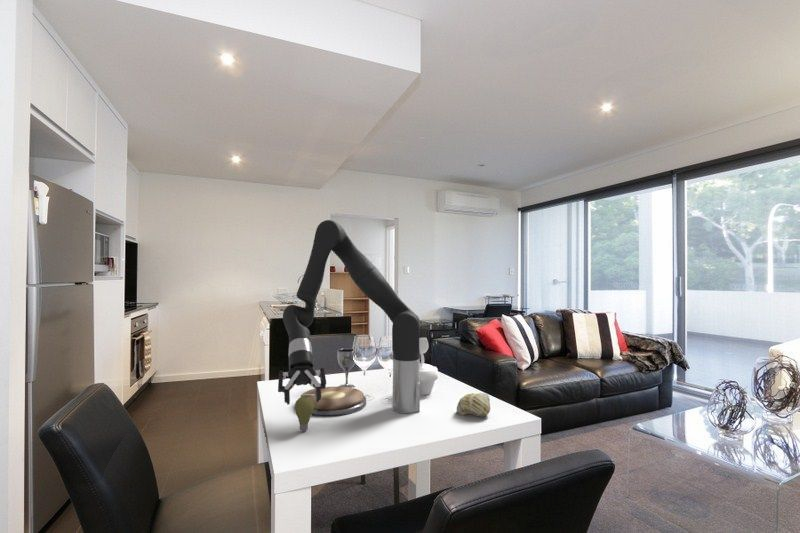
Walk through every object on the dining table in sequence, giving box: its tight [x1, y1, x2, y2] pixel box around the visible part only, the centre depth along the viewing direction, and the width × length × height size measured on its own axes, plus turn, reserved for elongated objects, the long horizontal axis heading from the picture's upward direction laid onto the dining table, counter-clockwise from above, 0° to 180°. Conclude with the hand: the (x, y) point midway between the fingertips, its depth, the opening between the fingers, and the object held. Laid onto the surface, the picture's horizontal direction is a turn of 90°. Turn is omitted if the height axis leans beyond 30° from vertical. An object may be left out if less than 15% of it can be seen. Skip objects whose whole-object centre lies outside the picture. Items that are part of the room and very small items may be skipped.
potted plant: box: [419, 334, 439, 396], centre depth 150 cm, size 13×12×25 cm
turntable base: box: [311, 395, 367, 418], centre depth 135 cm, size 24×24×2 cm
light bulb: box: [294, 396, 314, 433], centre depth 111 cm, size 6×6×10 cm
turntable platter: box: [299, 386, 365, 410], centre depth 135 cm, size 22×22×2 cm
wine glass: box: [336, 347, 356, 388], centre depth 157 cm, size 8×8×15 cm
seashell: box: [456, 392, 491, 418], centre depth 126 cm, size 10×10×10 cm
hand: (303, 402), depth 113 cm, fingers open, 8 cm apart
